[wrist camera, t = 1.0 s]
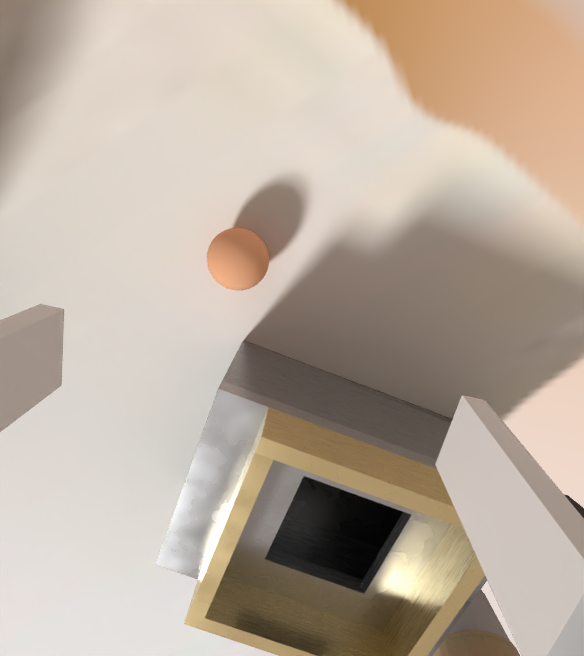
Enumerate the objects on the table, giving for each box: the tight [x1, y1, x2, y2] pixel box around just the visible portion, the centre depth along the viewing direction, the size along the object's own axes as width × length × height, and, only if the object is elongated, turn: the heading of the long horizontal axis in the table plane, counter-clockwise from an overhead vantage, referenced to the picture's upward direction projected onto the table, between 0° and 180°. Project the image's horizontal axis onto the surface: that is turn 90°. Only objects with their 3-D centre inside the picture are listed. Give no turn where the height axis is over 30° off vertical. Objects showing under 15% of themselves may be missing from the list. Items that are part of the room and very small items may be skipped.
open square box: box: [156, 341, 487, 656], centre depth 28 cm, size 20×14×11 cm
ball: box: [207, 228, 269, 290], centre depth 27 cm, size 4×4×4 cm
